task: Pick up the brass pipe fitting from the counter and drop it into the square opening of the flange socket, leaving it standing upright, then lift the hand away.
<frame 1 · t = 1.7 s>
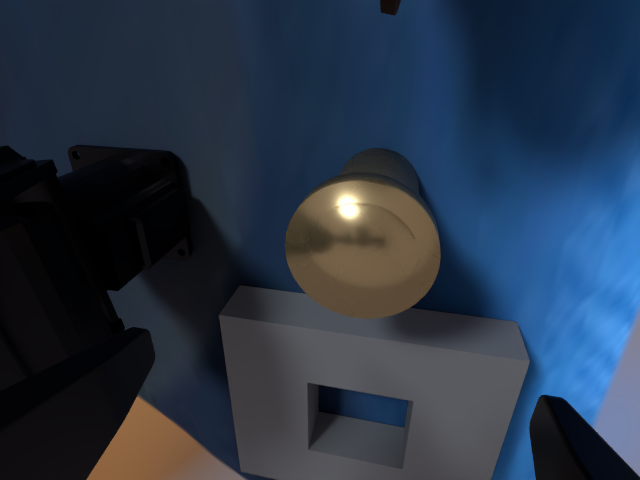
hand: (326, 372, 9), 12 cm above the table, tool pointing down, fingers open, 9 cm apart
flange socket: (362, 388, 26), on the table
brass fitting: (377, 187, 20), on the table
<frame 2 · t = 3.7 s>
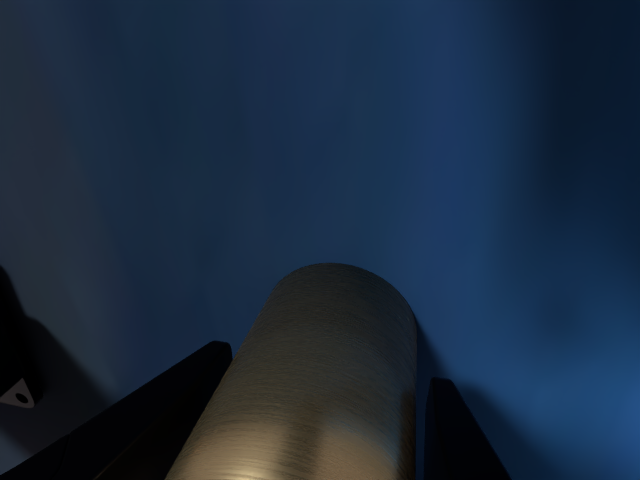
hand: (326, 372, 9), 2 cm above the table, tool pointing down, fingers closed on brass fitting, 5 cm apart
brass fitting: (338, 329, 10), on the table, touching gripper
when the fingers open (4 cm above the table, at t = 8.2 s): brass fitting drops 2 cm, resting in flange socket.
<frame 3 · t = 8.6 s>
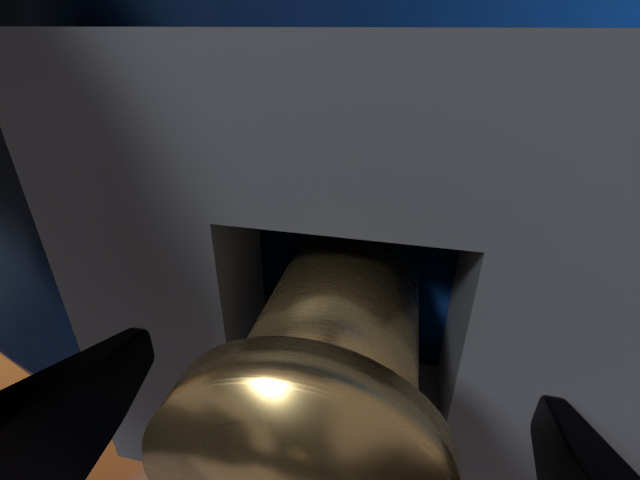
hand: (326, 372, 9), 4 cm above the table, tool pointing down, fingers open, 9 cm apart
flange socket: (352, 279, 13), on the table
brass fitting: (353, 278, 13), resting in flange socket
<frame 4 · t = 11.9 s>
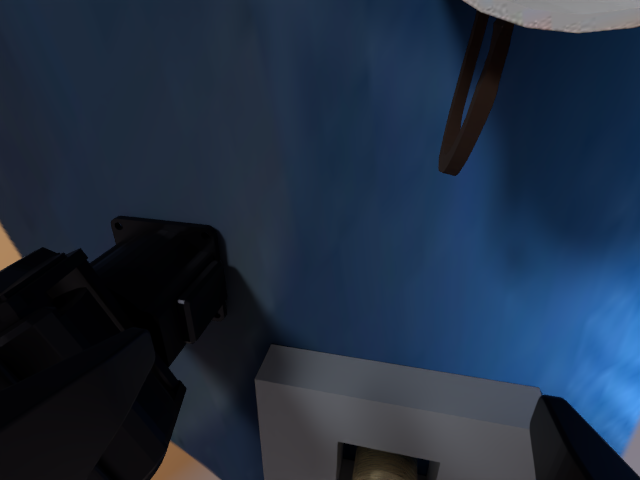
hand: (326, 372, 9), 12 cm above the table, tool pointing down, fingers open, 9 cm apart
flange socket: (387, 440, 27), on the table
brass fitting: (387, 439, 27), resting in flange socket
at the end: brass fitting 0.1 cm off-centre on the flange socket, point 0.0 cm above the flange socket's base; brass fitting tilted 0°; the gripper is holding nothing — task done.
